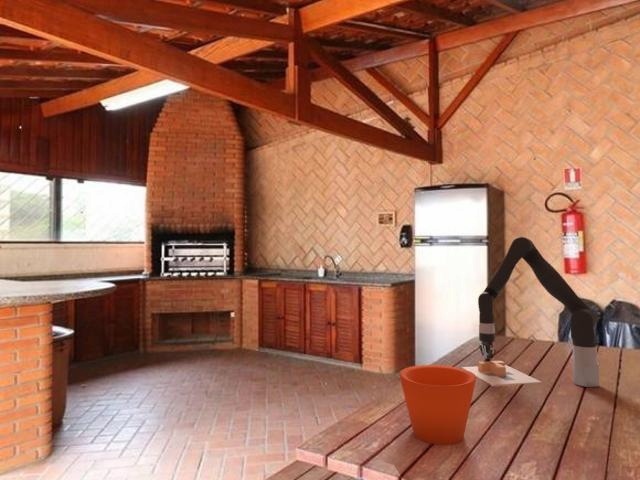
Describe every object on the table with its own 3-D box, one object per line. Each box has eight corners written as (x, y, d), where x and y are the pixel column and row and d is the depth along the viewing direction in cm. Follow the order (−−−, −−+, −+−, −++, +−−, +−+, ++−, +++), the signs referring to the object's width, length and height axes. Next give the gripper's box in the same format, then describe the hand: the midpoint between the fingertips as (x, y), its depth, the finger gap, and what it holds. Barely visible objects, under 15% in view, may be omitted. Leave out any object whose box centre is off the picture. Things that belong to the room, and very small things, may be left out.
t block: (513, 375, 215) (513, 366, 215) (489, 376, 213) (489, 368, 213) (500, 368, 226) (500, 360, 227) (478, 369, 225) (477, 361, 225)
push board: (541, 383, 204) (541, 381, 204) (491, 386, 201) (491, 384, 201) (505, 365, 233) (505, 364, 234) (461, 368, 230) (461, 367, 230)
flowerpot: (421, 414, 168) (420, 361, 168) (489, 431, 152) (487, 372, 152) (386, 437, 149) (385, 377, 149) (459, 459, 133) (458, 391, 133)
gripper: (500, 333, 222) (501, 369, 222) (487, 328, 235) (488, 362, 235) (486, 334, 221) (486, 369, 221) (473, 329, 234) (474, 362, 234)
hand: (487, 365), depth 228 cm, fingers closed
